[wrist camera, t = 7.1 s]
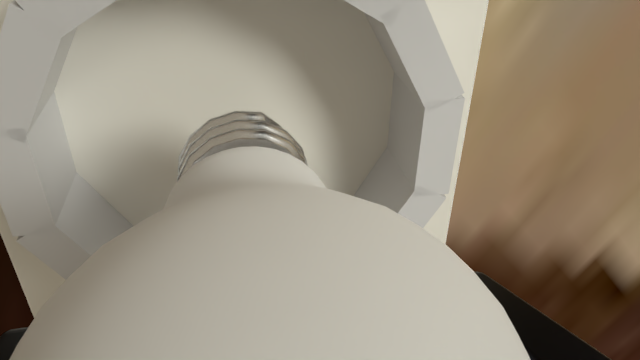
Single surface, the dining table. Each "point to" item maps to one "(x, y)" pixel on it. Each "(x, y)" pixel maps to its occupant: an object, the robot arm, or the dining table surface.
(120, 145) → the socket base
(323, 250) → the light bulb
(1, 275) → the dining table surface
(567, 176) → the dining table surface
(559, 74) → the dining table surface
